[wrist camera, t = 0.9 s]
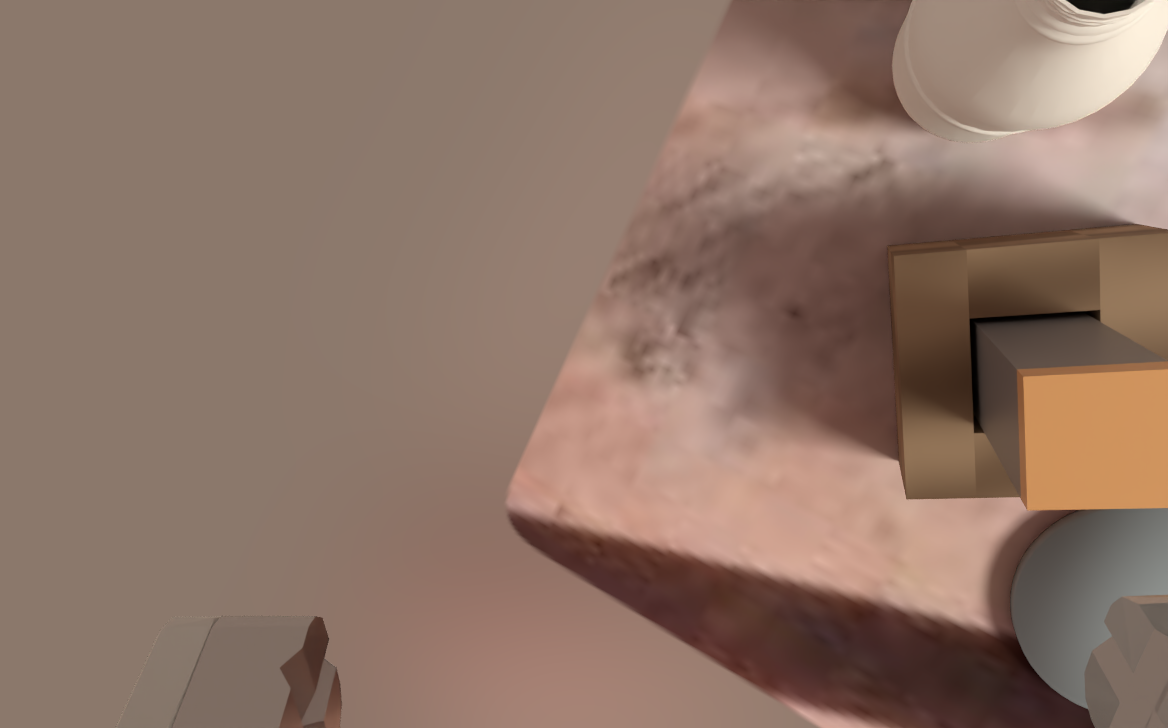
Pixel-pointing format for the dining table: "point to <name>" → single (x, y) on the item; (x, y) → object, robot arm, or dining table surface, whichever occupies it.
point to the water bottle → (1019, 61)
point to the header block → (992, 289)
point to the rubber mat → (1084, 587)
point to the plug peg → (1072, 411)
